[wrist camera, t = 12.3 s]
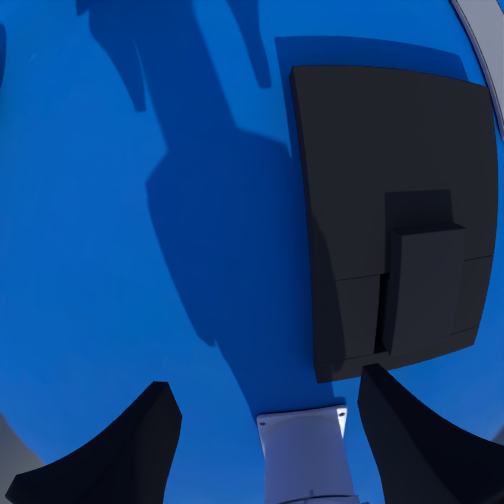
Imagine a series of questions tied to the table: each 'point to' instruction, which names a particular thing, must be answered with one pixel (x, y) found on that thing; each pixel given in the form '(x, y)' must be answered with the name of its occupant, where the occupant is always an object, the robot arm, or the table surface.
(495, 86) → the smartphone
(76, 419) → the table surface
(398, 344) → the pad
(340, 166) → the base pad
